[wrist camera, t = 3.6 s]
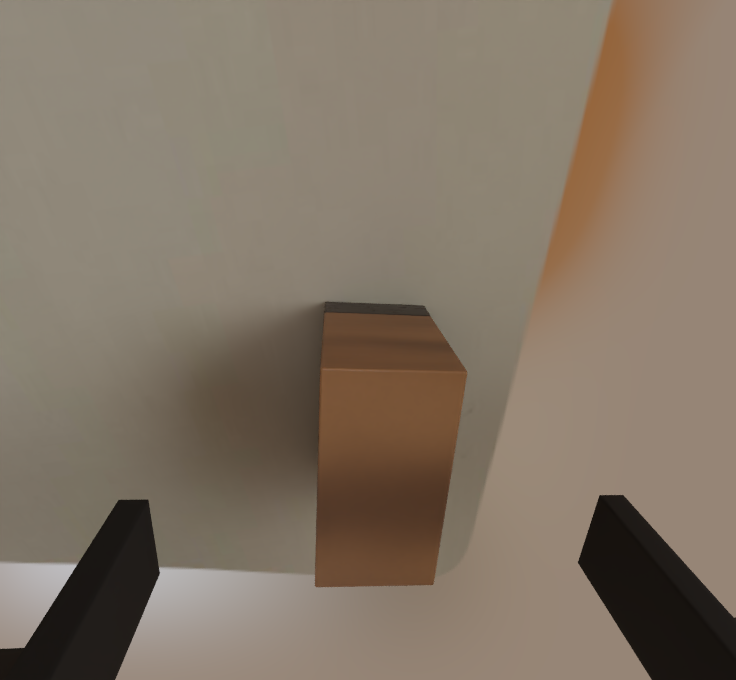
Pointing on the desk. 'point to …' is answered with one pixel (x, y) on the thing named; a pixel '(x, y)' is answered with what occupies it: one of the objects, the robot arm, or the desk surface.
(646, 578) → the robot arm
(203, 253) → the desk surface
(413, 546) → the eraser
